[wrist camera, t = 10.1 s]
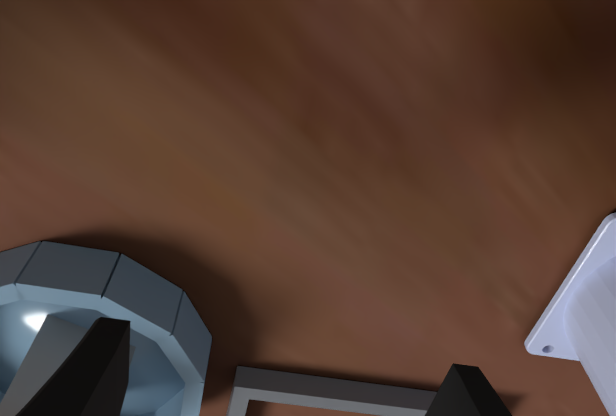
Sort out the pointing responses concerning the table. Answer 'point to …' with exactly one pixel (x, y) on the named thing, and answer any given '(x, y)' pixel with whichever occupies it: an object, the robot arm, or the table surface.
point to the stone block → (43, 361)
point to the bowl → (111, 304)
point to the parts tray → (324, 393)
